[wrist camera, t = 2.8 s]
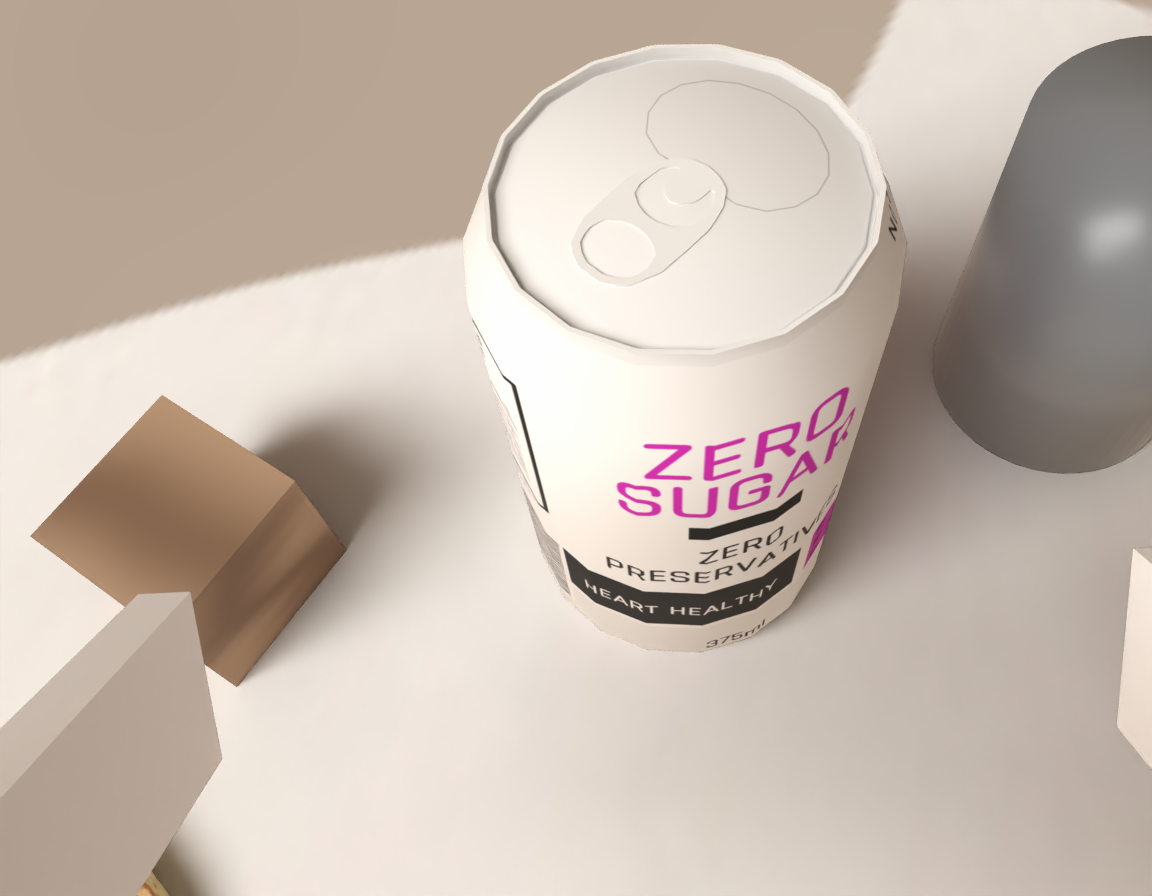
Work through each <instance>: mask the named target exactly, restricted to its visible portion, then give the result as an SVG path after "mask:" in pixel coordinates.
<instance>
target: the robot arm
mask: <svg viewBox="0 0 1152 896" xmlns="http://www.w3.org/2000/svg"><path fill="white" fill-rule="evenodd" d="M1117 727H1118V729H1119V730H1120V731H1121V732H1122V733H1123V735H1124V736H1125V737H1126V738H1127V740H1128V741H1129V742H1130V743H1131V745H1132V746H1133V747H1134V748H1135V750H1136V751H1137V752H1138V753H1139V754H1140V756H1141V757H1142V758H1143V759H1144V761H1145V762H1146V763H1147V764H1148V766H1149V767H1150V768H1151V769H1152V547H1148V548H1133V555H1132V566H1131V577H1130V588H1129V599H1128V610H1127V621H1126V632H1125V643H1124V654H1123V664H1122V675H1121V686H1120V697H1119V708H1118V719H1117ZM221 760H222V754H221V749H220V744H219V739H218V733H217V728H216V723H215V718H214V713H213V707H212V702H211V697H210V692H209V687H208V681H207V676H206V671H205V666H204V661H203V655H202V650H201V645H200V640H199V635H198V629H197V624H196V619H195V614H194V609H193V603H192V598H191V593H190V592H174V593H152V594H138V595H137V596H136V597H135V598H134V599H133V600H132V601H131V602H130V603H129V604H128V605H127V606H126V607H125V608H124V609H123V610H122V611H121V612H120V613H119V614H118V615H116V616H115V617H114V618H113V619H112V620H111V621H110V622H109V623H108V624H107V625H106V626H105V627H104V628H103V629H102V630H101V631H100V632H99V633H98V634H97V635H96V636H95V637H94V638H93V639H92V640H91V641H90V642H89V643H88V644H87V645H86V646H85V647H84V648H83V649H82V650H81V651H80V652H79V653H78V654H77V655H76V656H75V657H74V658H72V659H71V660H70V661H69V662H68V663H67V664H66V665H65V666H64V667H63V668H62V669H61V670H60V671H59V672H58V673H57V674H56V675H55V676H54V677H53V678H52V679H51V680H50V681H49V682H48V683H47V684H46V685H45V686H44V687H43V688H42V689H41V690H40V691H39V692H38V693H37V694H36V695H35V696H34V697H33V698H32V699H31V700H29V701H28V702H27V703H26V704H25V705H24V706H23V707H22V708H21V709H20V710H19V711H18V712H17V713H16V714H15V715H14V716H13V717H12V718H11V719H10V720H9V721H8V722H7V723H6V724H5V725H4V726H3V727H2V728H1V729H0V896H136V895H137V894H138V892H139V891H140V889H141V887H142V886H143V884H144V883H145V881H146V879H147V878H148V876H149V875H150V873H151V871H152V870H153V868H154V867H155V865H156V864H157V862H158V860H159V859H160V857H161V856H162V854H163V852H164V851H165V849H166V848H167V846H168V844H169V843H170V841H171V840H172V838H173V836H174V835H175V833H176V832H177V830H178V829H179V827H180V825H181V824H182V822H183V821H184V819H185V817H186V816H187V814H188V813H189V811H190V809H191V808H192V806H193V805H194V803H195V802H196V800H197V798H198V797H199V795H200V794H201V792H202V790H203V789H204V787H205V786H206V784H207V782H208V781H209V779H210V778H211V776H212V774H213V773H214V771H215V770H216V768H217V767H218V765H219V763H220V762H221Z"/></svg>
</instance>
